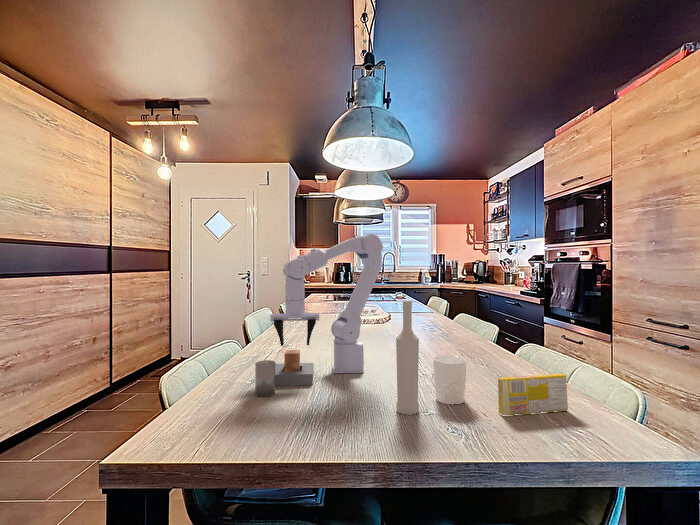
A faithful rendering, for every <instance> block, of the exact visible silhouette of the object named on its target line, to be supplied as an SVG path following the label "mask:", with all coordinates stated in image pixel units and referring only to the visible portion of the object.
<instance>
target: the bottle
mask: <svg viewBox="0 0 700 525" xmlns="http://www.w3.org/2000/svg"><path fill="white" fill-rule="evenodd" d="M412 302H413V301H412V300H406V299H405V300H402V330H401V333H399V334H398V335H397V336H396V337H395V341H396V345H395V347H396V348H395V349H396V350H395V351H396V352H395V353H396V386H397V387H396V388H397V389H396V392H397V393H396V394H397V398H396V399H397V400H396V403H395V404H396V411H397V413H398V414H400V413H401V415H404V414H406V415H405V416H414V415H417V414H418V413H419V410H420V402H419V401H418V400H419V357H420V356H419V353H420V352H419V351H420V350H419V349H420V347H419V346H420V345H419V344H420V338H419V337H418V336H417V335H416V334H415V333H414V330H413V328H412V327H413V326H412V325H413V324H412V320H413V319H412V317H413V316H412V315H413V314H412V309H413V307H412V306H413V303H412ZM416 413H417V414H416ZM413 414H414V415H413Z"/></svg>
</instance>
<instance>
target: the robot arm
mask: <svg viewBox="0 0 700 525" xmlns="http://www.w3.org/2000/svg"><path fill="white" fill-rule="evenodd" d="M383 248H384V245H383V243H382V240H381V239H380V237H379V236H378V235H377V234H374V233H370V234H367V235H358V236H356V237H352V238H348V239H346V240H344V241H341V242H340V243H338V244H335V245H334V246H331V247H329V248H326V249H325V250H323V249H321V248H317V249H316V248H312V249H310V252H308V253H306V254H303V255H301V254H299V255H297V256H296V258H295V259H291V260H288V261H287V262H286V263H285V264H284V266H283V269H282V272H283V274H284V276H285V286H284V287H285V288H284V290H285V291H284V293H285V304H284V306H285V313H273V314H272V313H271V314H270V315H269V321H270V322H273V326H274V328H275V330H276V333H277V335H278V339H279V342H280V346H281V347H282V346H283V347H284V345H285V343H284V341H285V338H284V322H286V321H287V322H294V321H296V322H297V321H306V326H307V327H306V328H307V330H306V331H307V332H306V333H307V335H306V346H310V340H311V337H312V333H313V331H314V328H315V325H316V323H317V322H319V321H320V312H319V313H314V312H313V313H310V312H308V313H307V312H305V310H306V309H305V302H306V301H305V298H306V296H305V285H306V284H305V277H306V275H308V274H310V273H312V272H313V273H314V272H315V271H317V270H320V269H321V268H324V267H326V266H327V265H328V262H329V261H330V260H331V259H334V258H337V257H338V256H341V255H344V254H346V253H355V254H356V255H357V256H358V257H359V259H360V260H361V262H362V264H363V268H362V270H361V272H360V274H359V277H358V279H357V281H356V284H355V286H354V288H353V290H352V293H351V295H350V297H349V299H348V302H347V304H346V307H345V309H344V310H343V311H342V312H340V313H339V315H338V318H336V320H335V321H333V323H331V328H330V329H331V330H330V331H331V334H332V336H333V337H334V339H333V364H332V373H333V374H361V373H362V374H363V373H364V372H365V370H364V367H365V360H364V359H365V357H364V344H363V341H357V340H358V339H359V337H360V335H361V325H362V318H361V315H362V313H363V311H364V308H365V306H366V304H367V302H368V299H369V297H370V295H371V292H372V290H373V287H374V286H375V283H376V280H377V279H378V276H379V274H380V273H381V272H380V271H381V270H382V269H381V268H382V265H383V262H382V250H383Z"/></svg>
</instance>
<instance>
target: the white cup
mask: <svg viewBox="0 0 700 525" xmlns="http://www.w3.org/2000/svg"><path fill="white" fill-rule="evenodd" d="M467 363H468V362H467V359H466V358H464V357H461V356H457V355H438V356H434V357H433V377H434V388H435V399H436V401H437V402H439V403H441V404H444V405H450V404H451V405H453V404H458V405H461V403H462V404H463V403H465V394H466V392H465V391H466V383H467V382H466V381H467ZM451 405H450V406H451Z"/></svg>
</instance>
